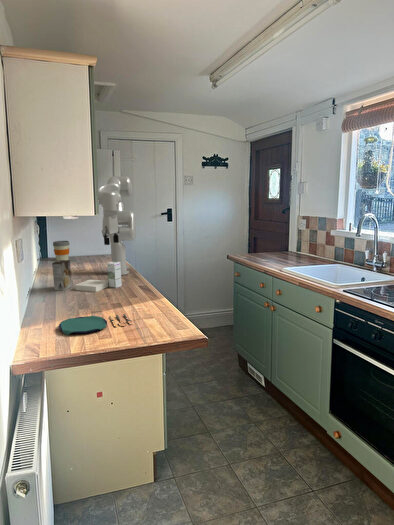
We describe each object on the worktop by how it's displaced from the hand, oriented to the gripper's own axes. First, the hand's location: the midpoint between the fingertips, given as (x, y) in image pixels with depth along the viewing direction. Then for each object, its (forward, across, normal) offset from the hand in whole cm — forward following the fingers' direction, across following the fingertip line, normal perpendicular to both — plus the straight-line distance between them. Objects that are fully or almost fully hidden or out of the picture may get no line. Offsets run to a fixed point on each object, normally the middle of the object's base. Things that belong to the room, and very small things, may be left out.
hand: (111, 243), depth 238 cm
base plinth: (+25, +7, -10) cm, 28 cm away
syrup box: (+26, 0, 0) cm, 26 cm away
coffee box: (+26, +13, -26) cm, 39 cm away
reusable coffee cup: (+25, -64, -87) cm, 111 cm away
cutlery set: (+27, +62, +29) cm, 73 cm away
